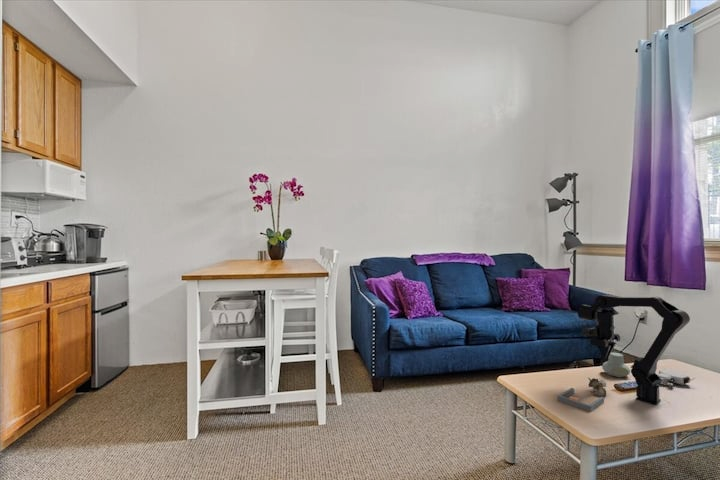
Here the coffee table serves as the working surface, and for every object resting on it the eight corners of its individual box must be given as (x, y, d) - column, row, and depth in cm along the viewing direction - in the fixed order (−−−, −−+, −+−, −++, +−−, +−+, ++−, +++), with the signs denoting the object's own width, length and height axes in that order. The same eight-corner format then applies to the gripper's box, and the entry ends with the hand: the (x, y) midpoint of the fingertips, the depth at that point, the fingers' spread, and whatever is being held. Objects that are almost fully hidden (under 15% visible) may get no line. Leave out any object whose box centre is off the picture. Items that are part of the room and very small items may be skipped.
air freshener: (606, 377, 171) (606, 355, 171) (599, 371, 180) (599, 350, 180) (633, 379, 169) (633, 357, 169) (624, 373, 177) (624, 352, 177)
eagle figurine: (582, 384, 159) (583, 388, 151) (592, 372, 158) (594, 374, 151) (599, 397, 155) (602, 401, 148) (610, 384, 155) (613, 388, 147)
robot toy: (672, 392, 157) (696, 386, 161) (671, 381, 157) (696, 375, 161) (643, 381, 169) (666, 376, 173) (642, 371, 169) (666, 366, 173)
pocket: (604, 402, 144) (604, 395, 144) (590, 412, 136) (590, 404, 136) (571, 392, 153) (571, 385, 153) (557, 400, 145) (557, 393, 145)
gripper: (593, 317, 173) (592, 350, 172) (576, 322, 161) (576, 358, 161) (620, 321, 164) (620, 356, 164) (605, 327, 152) (604, 365, 152)
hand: (604, 358), depth 160 cm, fingers open, 3 cm apart
